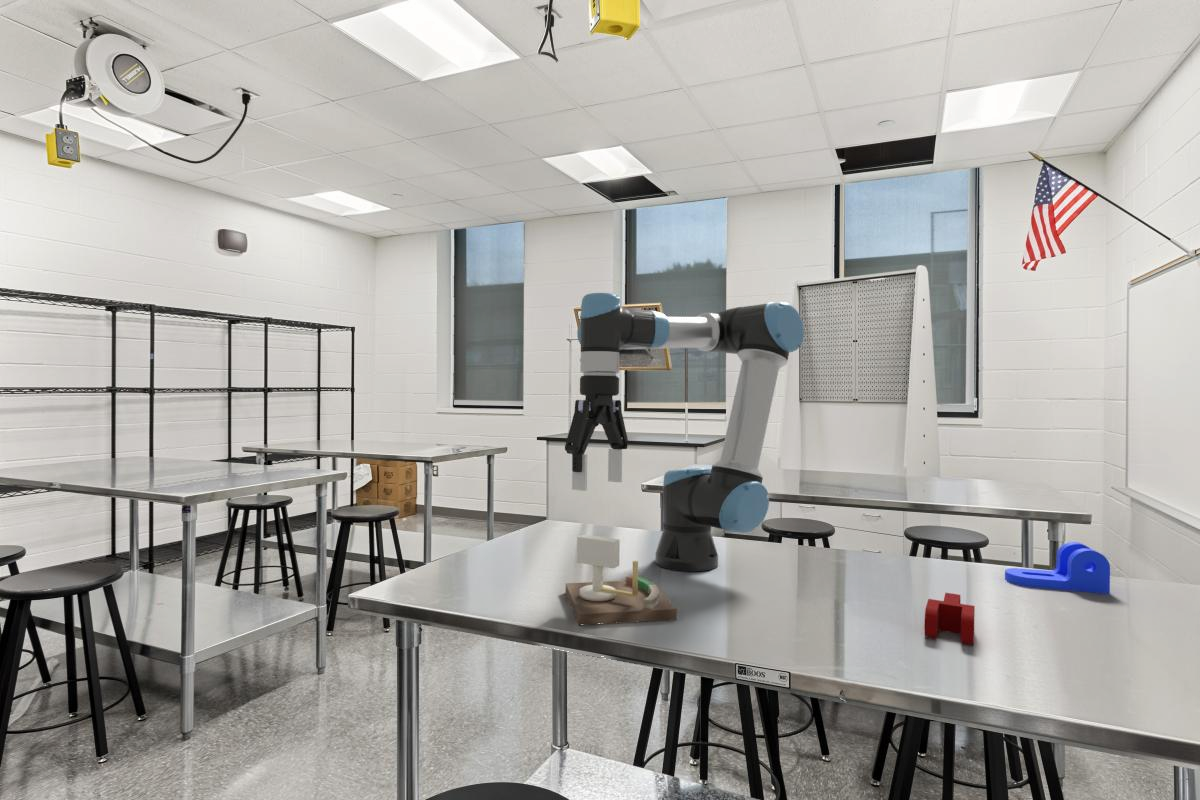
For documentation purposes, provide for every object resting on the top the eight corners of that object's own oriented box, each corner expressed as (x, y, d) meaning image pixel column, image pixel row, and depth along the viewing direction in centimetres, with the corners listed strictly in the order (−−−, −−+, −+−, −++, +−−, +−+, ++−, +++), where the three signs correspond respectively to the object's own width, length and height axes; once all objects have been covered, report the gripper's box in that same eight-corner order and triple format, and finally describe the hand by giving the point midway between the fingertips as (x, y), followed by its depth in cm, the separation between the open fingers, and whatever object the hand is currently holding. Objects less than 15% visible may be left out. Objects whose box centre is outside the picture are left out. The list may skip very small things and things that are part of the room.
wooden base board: (650, 589, 134) (650, 572, 134) (676, 619, 116) (676, 600, 116) (565, 593, 131) (565, 576, 131) (578, 625, 112) (578, 605, 112)
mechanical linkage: (973, 650, 104) (973, 619, 104) (924, 640, 108) (924, 611, 108) (975, 620, 117) (975, 593, 117) (931, 613, 121) (931, 587, 121)
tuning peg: (589, 587, 127) (589, 532, 127) (645, 597, 121) (646, 540, 121) (570, 596, 121) (570, 539, 121) (628, 608, 115) (629, 547, 115)
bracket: (1092, 583, 142) (1093, 543, 142) (1109, 594, 134) (1110, 552, 134) (1000, 575, 147) (1000, 537, 147) (1011, 586, 139) (1011, 545, 139)
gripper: (613, 377, 134) (611, 477, 135) (546, 372, 113) (544, 491, 113) (645, 377, 131) (643, 480, 131) (582, 372, 109) (580, 495, 109)
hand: (598, 485), depth 122 cm, fingers open, 13 cm apart
